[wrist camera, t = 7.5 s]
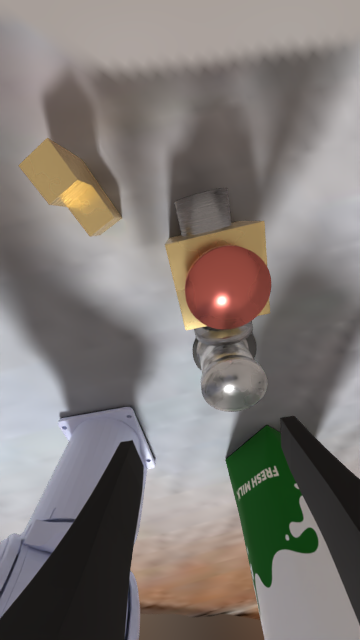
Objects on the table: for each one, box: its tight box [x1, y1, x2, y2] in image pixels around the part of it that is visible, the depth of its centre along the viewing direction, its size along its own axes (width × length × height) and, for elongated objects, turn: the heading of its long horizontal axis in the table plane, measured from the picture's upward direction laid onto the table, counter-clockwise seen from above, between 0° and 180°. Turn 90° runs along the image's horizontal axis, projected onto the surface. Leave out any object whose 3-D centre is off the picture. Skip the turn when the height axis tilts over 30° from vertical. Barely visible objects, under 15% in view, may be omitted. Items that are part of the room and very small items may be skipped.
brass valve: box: [165, 188, 271, 346], centre depth 13 cm, size 9×5×7 cm, turn 13°
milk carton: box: [226, 425, 360, 640], centre depth 16 cm, size 9×9×20 cm
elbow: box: [19, 138, 122, 237], centre depth 13 cm, size 4×2×4 cm, turn 33°
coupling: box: [196, 339, 268, 412], centre depth 17 cm, size 4×4×5 cm
